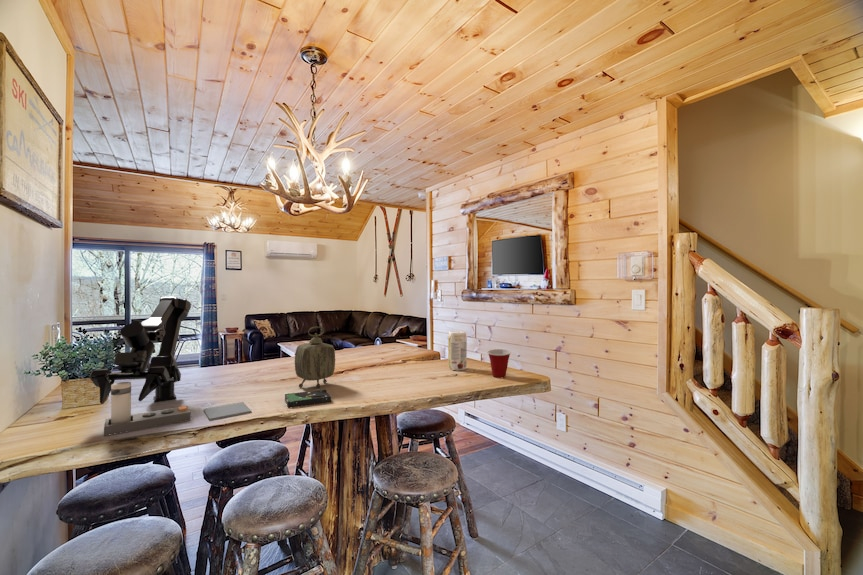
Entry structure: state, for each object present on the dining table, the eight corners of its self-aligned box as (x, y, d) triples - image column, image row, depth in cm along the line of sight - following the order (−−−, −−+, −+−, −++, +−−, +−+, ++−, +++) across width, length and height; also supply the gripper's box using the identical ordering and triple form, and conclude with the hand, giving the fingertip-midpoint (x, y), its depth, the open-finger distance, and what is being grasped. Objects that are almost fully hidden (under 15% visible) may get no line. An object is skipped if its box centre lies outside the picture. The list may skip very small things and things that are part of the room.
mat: (203, 410, 123) (203, 408, 123) (242, 403, 131) (242, 401, 131) (209, 420, 114) (209, 418, 114) (251, 412, 122) (251, 410, 122)
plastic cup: (483, 377, 172) (483, 351, 172) (492, 373, 181) (492, 348, 181) (505, 380, 166) (506, 353, 166) (514, 375, 175) (514, 350, 175)
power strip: (105, 427, 108) (105, 416, 108) (187, 413, 121) (187, 403, 121) (103, 436, 102) (104, 424, 102) (190, 420, 114) (190, 409, 114)
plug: (115, 426, 109) (116, 382, 109) (133, 425, 110) (134, 381, 110) (102, 435, 102) (102, 388, 102) (121, 434, 103) (122, 387, 103)
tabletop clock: (326, 381, 162) (327, 324, 162) (337, 385, 156) (337, 326, 156) (294, 387, 152) (294, 326, 152) (303, 392, 146) (304, 328, 146)
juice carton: (467, 370, 187) (467, 332, 187) (451, 371, 184) (451, 333, 184) (462, 367, 194) (462, 330, 194) (446, 368, 192) (447, 331, 192)
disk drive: (325, 396, 142) (284, 401, 136) (325, 389, 142) (284, 393, 136) (331, 404, 133) (287, 409, 126) (331, 396, 133) (287, 401, 126)
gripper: (93, 342, 110) (67, 389, 99) (166, 340, 115) (149, 384, 104) (107, 364, 117) (85, 409, 106) (175, 361, 122) (161, 404, 111)
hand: (120, 401), depth 107 cm, fingers open, 9 cm apart
